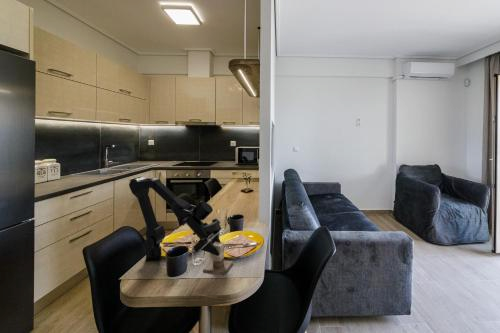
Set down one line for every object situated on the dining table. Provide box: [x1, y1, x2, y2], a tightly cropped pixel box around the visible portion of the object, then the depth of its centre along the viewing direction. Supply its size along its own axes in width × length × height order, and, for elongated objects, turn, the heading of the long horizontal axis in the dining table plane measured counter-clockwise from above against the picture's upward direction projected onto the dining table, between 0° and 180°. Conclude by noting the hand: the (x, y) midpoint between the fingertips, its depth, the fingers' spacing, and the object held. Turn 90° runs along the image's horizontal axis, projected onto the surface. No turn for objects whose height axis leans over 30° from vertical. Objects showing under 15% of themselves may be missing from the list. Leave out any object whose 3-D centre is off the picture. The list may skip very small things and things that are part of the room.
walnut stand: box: [202, 258, 233, 276], centre depth 120 cm, size 10×10×4 cm
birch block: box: [211, 241, 225, 262], centre depth 119 cm, size 4×4×7 cm
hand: (220, 252), depth 118 cm, fingers open, 5 cm apart
